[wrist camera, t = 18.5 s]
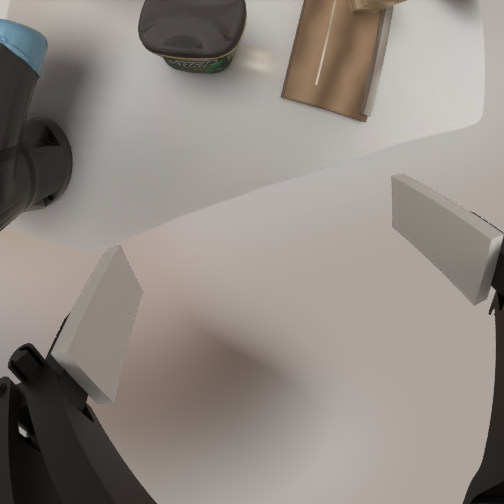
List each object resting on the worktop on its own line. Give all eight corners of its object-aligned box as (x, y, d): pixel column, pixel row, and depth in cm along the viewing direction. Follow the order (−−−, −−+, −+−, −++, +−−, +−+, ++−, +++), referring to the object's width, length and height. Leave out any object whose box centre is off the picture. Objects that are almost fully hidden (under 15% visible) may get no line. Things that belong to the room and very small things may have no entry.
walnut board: (280, 97, 37) (286, 96, 34) (314, -41, 25) (321, -49, 22) (360, 120, 40) (370, 123, 36) (387, -10, 28) (397, -15, 25)
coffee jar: (161, 71, 33) (120, 50, 17) (172, 22, 29) (143, -28, 13) (229, 78, 35) (239, 59, 19) (240, 29, 31) (258, -19, 15)
